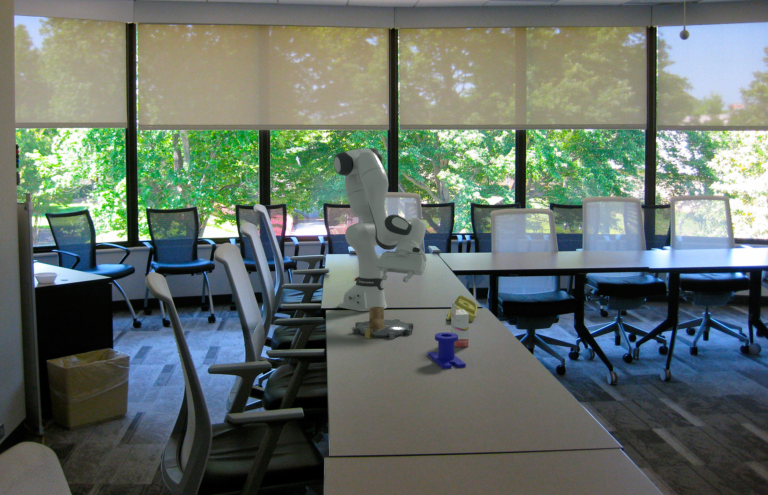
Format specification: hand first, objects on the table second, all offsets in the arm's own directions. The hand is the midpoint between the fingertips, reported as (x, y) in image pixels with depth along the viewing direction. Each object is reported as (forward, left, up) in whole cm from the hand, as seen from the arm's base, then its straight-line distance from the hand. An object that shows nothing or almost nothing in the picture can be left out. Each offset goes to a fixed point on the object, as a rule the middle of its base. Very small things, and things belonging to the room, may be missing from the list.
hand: (394, 280), depth 244 cm
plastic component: (+18, +28, -19) cm, 38 cm away
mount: (+37, -33, -19) cm, 53 cm away
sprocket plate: (0, -9, -18) cm, 21 cm away
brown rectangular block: (0, -14, -16) cm, 21 cm away
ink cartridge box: (+33, -12, -19) cm, 40 cm away
